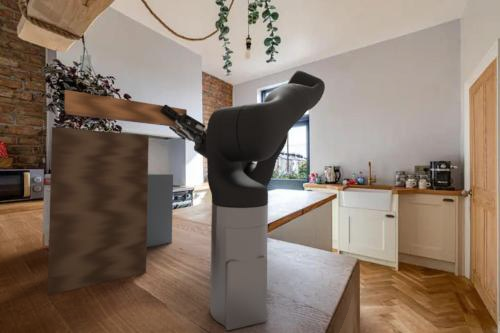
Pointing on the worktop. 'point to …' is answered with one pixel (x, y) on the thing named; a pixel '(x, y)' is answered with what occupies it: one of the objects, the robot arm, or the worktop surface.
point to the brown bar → (116, 109)
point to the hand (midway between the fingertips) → (160, 110)
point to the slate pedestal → (159, 209)
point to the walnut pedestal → (96, 207)
